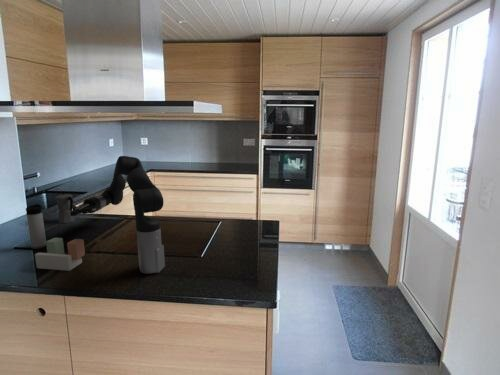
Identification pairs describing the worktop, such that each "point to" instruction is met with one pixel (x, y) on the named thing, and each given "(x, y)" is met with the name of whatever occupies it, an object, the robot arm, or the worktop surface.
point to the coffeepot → (65, 207)
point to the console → (56, 261)
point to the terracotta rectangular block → (76, 248)
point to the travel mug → (36, 226)
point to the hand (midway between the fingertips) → (71, 213)
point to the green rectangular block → (55, 246)
